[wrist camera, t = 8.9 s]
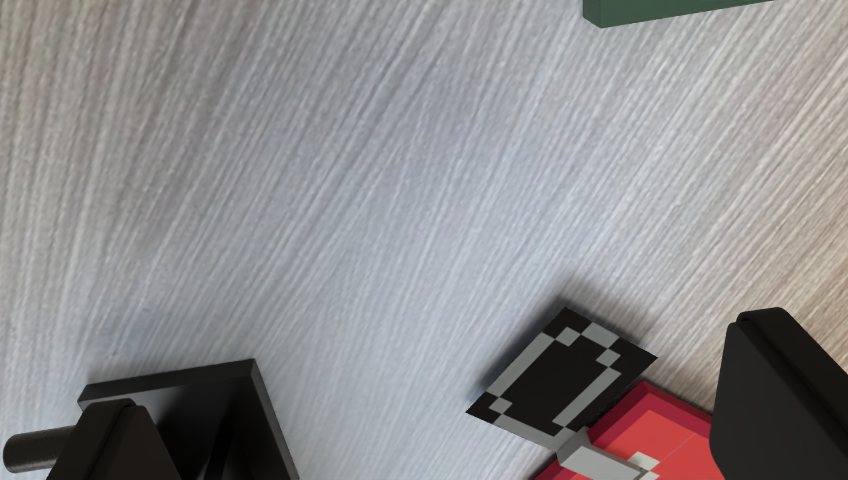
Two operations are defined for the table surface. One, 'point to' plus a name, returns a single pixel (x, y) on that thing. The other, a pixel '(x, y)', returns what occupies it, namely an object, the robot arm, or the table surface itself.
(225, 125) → the table surface
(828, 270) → the table surface
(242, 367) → the bracket
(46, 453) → the tap lever
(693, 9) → the button box
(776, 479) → the robot arm
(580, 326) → the red board with handle
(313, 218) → the table surface
